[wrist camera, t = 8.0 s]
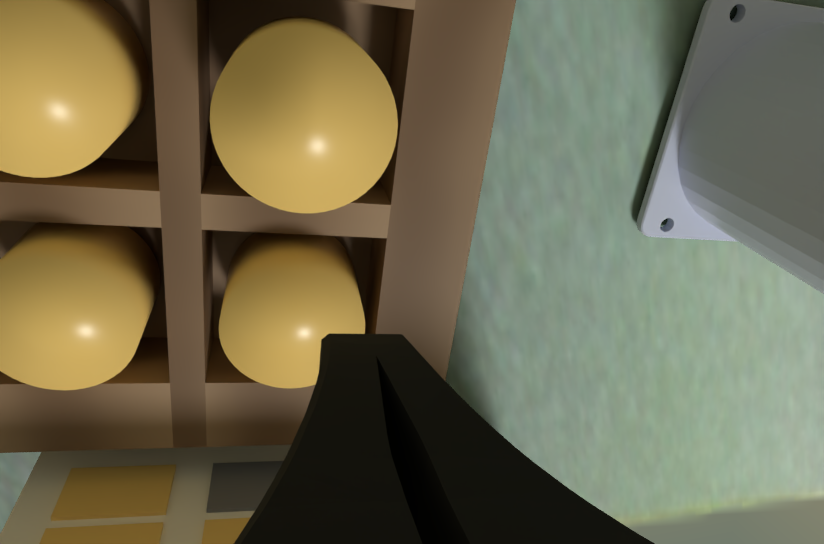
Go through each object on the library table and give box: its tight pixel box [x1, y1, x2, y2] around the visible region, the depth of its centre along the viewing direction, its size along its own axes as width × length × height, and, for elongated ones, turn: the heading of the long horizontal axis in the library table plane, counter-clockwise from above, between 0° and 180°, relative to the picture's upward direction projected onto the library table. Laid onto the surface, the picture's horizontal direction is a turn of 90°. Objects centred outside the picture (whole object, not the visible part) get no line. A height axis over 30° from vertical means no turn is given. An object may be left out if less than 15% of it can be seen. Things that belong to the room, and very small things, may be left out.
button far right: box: [219, 232, 365, 388], centre depth 18 cm, size 4×4×3 cm
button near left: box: [0, 0, 149, 178], centre depth 14 cm, size 4×4×3 cm
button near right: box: [210, 16, 398, 213], centre depth 14 cm, size 4×4×3 cm
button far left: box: [0, 222, 160, 390], centre depth 17 cm, size 4×4×3 cm
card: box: [0, 445, 291, 544], centre depth 20 cm, size 10×1×7 cm, turn 83°
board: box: [0, 0, 516, 453], centre depth 17 cm, size 16×16×3 cm
